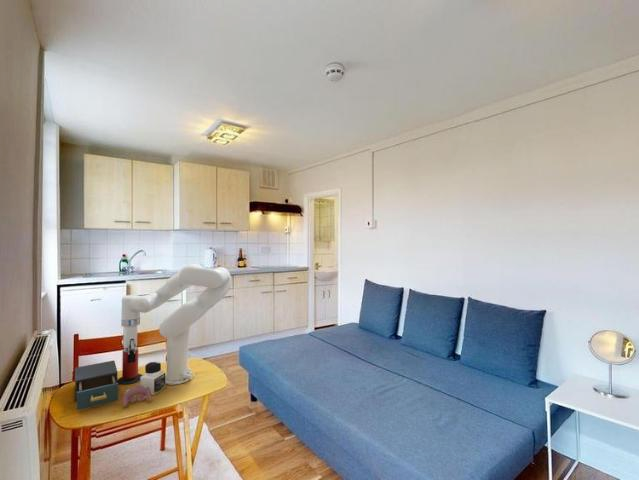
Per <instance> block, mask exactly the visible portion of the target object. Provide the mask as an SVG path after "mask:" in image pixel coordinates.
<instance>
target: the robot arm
mask: <svg viewBox="0 0 639 480" xmlns="http://www.w3.org/2000/svg"><path fill="white" fill-rule="evenodd" d="M231 284H232V276H231V273H230V271H229V270H228V269H227V268H226V267H223V266H219V267H215V268H206V267H203V266H202V265H201V264H199V263H191V264H187V265H185V266H183V267H182V268H180V271H178V272H176V273H175V274H173V275H172V276H171V277H169V278H168V279H166V280H165V283H164V284H163V285H162V286H161V287H159V288H157V289H156V290H154V291H152V292H151V293H148V294H146V295H143V296H140V295H138V294H127V295H124V296H123V297H121V319H120V321H121V325H120V327H122V328H123V332H122V346H123V349H126V348H128V354H127V363H132V362H135V357H136V353H135V347H137V346H138V326H140V325H141V313H142V314H145V313H146V314H147V313H149V312H151V311H153V310H155V309H157V308H159V307H161V306H162V305H164V304H165V303H167V302H168V301H170V300H171V299H173V298H174V297H176V296H179V294H180V293H182V292H184V291H185V290H186V289H188V288H190V287H191V286H195V287H203V288H206V289H204V290H203V291H202V292H201V293H199V294H198V295H196V296H195V297H193V298H192V299H189V300H188V301H186V302H185V303H184V304H182V305H181V306H179V307H178V308H176V310H174V311H173V312H172V313H170V314H169V315H168V316H166V317H165V318H164V319H163V320H162V321H161V322H160V323H159V327H158V332H159V334H160V336H161V338H164V339H166V373H165V385H168V386H169V385H170V386H171V385H172V386H176V385H180V384H185V383H187V382H188V381H190V380H193V378H194V377H195V372H192V371H191V368H190V367H189V362H190V361H189V360H190V359H189V355H190V354H189V351H190V347H189V346H190V330H191V326H192V325H194V324H195V323H196V322H197V321H199V320H200V319H201V318H203V316H204V315H205V314H206V313H207V312H208V311H210V310H211V309H212V308H213V307H215V305H217V304H218V303H219V302H221V301H222V299H224V297H225V296H226V295H227V294H228V292H229V290H230V288H231ZM130 349H131V350H130Z"/></svg>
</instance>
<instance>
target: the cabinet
mask: <svg viewBox="0 0 639 480" xmlns="http://www.w3.org/2000/svg"><path fill="white" fill-rule="evenodd" d="M74 373H75V374H74V402H77V392H78V391H79V382H80V381H85V380H90V379H94V378H99V377H104V376H109V375H113V374H114V378H115V382H116V383H117V381H118V373H119V372H118V368H117V365H116V361H115V360H114V359H113V360H109V361H103V362H98V363H97V362H96V363H93V364H88V365H82V366H77V367H75V372H74Z"/></svg>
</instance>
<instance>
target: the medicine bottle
mask: <svg viewBox="0 0 639 480" xmlns="http://www.w3.org/2000/svg"><path fill="white" fill-rule="evenodd" d="M144 370H145V372H144V373H145V374H142V375H143V376H141V377H140V381H139V386H147V387H149V388H150V392H151V396H152V395H154V396H155V395H156V394H157V393H159V392H160V391H162V390H164V389H165V388H166V384H165V375H166V371H163V370H162V363H161V362H160V361H150V362H148V363H146V364H145V366H144Z"/></svg>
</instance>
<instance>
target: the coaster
mask: <svg viewBox="0 0 639 480" xmlns="http://www.w3.org/2000/svg"><path fill="white" fill-rule="evenodd" d="M143 375H144V374H141V373H138V375H137V376H136V377H134V378H129V379H124V378H122V376H121V377H119V378H117V383H118V385H120V386H126V385H127V386H128V385H132V384H136V383H138V382H139V383H140V377H141V376H143Z"/></svg>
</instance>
